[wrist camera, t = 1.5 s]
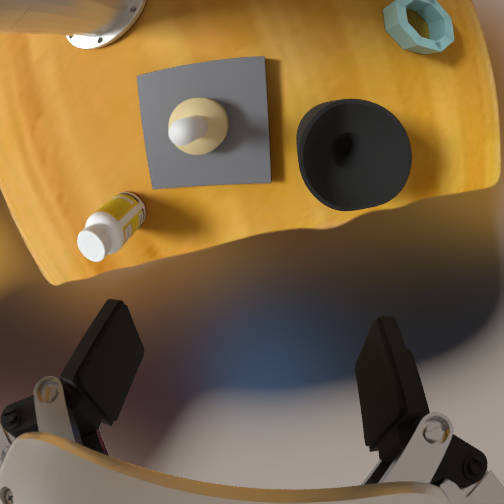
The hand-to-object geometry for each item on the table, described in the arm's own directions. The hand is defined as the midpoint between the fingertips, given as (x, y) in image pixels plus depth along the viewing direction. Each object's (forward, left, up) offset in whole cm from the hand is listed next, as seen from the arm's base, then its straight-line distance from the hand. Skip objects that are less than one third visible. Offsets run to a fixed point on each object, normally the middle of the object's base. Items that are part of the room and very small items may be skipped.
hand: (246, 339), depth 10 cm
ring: (-19, +17, -24) cm, 35 cm away
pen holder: (-3, +7, -24) cm, 26 cm away
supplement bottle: (+4, -19, -24) cm, 31 cm away
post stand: (-6, -7, -24) cm, 26 cm away
